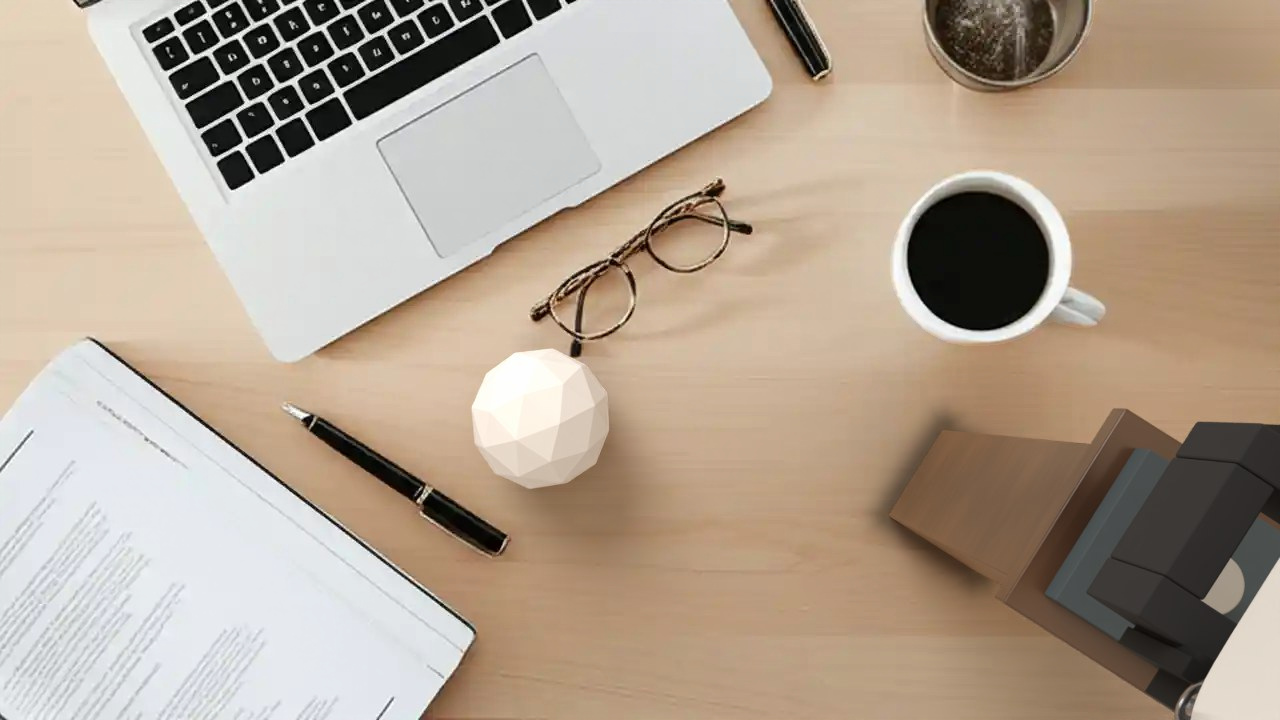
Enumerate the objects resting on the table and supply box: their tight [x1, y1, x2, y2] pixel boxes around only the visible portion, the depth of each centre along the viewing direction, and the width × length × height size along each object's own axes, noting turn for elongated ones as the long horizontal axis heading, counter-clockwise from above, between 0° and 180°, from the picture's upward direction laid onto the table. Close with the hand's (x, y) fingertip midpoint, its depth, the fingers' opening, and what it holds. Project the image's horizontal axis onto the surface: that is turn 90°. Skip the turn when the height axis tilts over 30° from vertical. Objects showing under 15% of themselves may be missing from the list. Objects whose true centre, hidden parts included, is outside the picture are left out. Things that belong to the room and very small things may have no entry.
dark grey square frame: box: [1086, 421, 1280, 661], centre depth 29 cm, size 6×6×3 cm
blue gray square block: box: [1044, 448, 1280, 642], centre depth 38 cm, size 6×6×4 cm
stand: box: [888, 407, 1280, 713], centre depth 54 cm, size 8×8×28 cm
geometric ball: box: [471, 347, 610, 490], centre depth 65 cm, size 8×8×8 cm
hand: (1238, 566), depth 30 cm, fingers closed on dark grey square frame, 5 cm apart
